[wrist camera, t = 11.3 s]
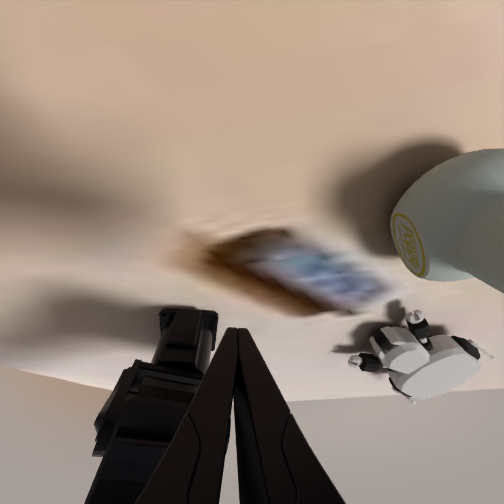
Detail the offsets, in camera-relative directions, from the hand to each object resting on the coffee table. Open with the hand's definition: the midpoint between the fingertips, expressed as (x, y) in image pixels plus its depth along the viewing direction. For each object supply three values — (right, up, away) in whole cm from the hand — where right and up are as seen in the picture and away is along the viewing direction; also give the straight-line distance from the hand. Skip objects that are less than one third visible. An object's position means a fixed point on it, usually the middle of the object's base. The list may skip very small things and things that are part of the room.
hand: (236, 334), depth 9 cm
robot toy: (+22, -9, +21) cm, 32 cm away
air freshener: (+18, +7, +11) cm, 22 cm away
